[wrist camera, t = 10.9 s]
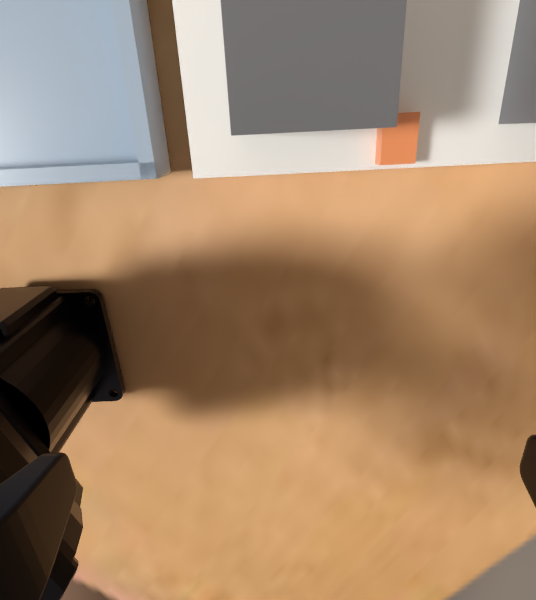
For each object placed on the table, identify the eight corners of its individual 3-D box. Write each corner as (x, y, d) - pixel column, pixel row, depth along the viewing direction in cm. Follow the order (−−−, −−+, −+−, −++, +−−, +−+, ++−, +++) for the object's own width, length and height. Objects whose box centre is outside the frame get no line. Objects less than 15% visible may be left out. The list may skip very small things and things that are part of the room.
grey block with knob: (351, 128, 16) (396, 127, 10) (243, 134, 16) (231, 135, 10) (358, -73, 13) (423, -218, 8) (230, -65, 13) (204, -205, 8)
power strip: (575, 152, 17) (749, 163, 11) (205, 170, 17) (171, 192, 11) (651, -144, 13) (983, -382, 7) (174, -115, 13) (98, -319, 7)
